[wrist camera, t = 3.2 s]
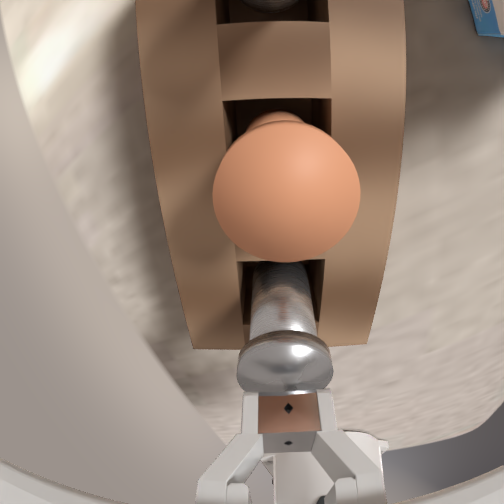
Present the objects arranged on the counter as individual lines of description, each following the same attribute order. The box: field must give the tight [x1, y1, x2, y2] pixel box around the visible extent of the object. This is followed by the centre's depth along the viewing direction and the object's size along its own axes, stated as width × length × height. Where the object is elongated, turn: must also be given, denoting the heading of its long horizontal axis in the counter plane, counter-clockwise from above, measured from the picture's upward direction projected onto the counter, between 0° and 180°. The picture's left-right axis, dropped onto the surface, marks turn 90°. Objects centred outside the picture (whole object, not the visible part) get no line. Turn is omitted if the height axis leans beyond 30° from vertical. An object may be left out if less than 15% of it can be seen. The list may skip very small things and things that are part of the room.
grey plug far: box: [237, 261, 333, 392], centre depth 14 cm, size 4×4×6 cm
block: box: [135, 0, 406, 350], centre depth 14 cm, size 22×10×6 cm, turn 3°
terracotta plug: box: [212, 109, 361, 262], centre depth 10 cm, size 4×4×6 cm
